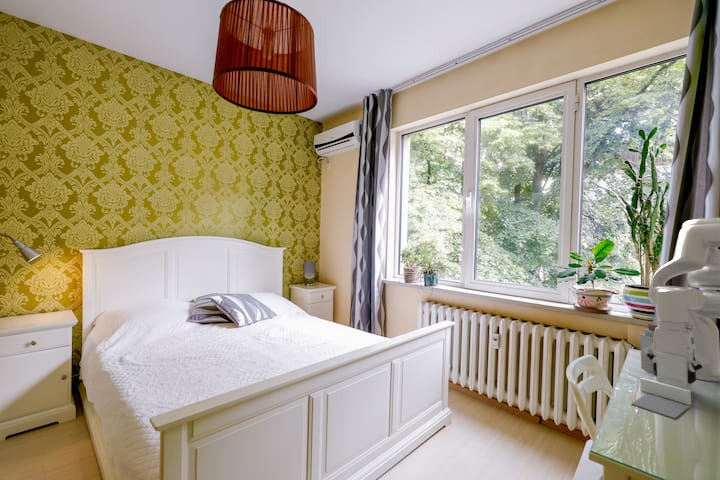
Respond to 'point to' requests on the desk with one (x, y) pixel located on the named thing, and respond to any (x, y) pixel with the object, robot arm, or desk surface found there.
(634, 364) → the desk surface
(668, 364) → the supplement box
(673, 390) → the frosted wall
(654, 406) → the charcoal mat
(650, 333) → the perfume bottle
